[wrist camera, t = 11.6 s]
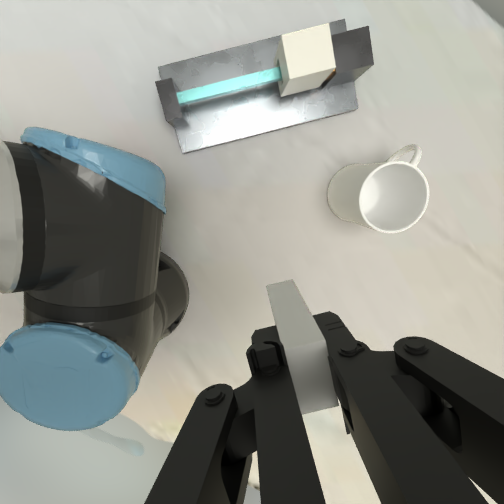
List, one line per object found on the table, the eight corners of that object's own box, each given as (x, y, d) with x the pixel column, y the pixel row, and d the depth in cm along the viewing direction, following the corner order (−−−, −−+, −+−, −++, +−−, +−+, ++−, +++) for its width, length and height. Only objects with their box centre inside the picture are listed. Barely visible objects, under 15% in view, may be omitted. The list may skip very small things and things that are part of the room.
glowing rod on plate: (183, 153, 44) (173, 148, 37) (160, 70, 41) (143, 47, 34) (355, 110, 43) (378, 96, 36) (341, 23, 41) (363, -10, 34)
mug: (371, 133, 44) (418, 117, 33) (410, 173, 46) (469, 171, 34) (315, 196, 46) (341, 202, 34) (354, 233, 48) (392, 250, 36)
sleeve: (280, 96, 40) (289, 79, 33) (273, 61, 39) (281, 35, 32) (318, 87, 39) (336, 67, 32) (312, 51, 38) (328, 22, 31)
